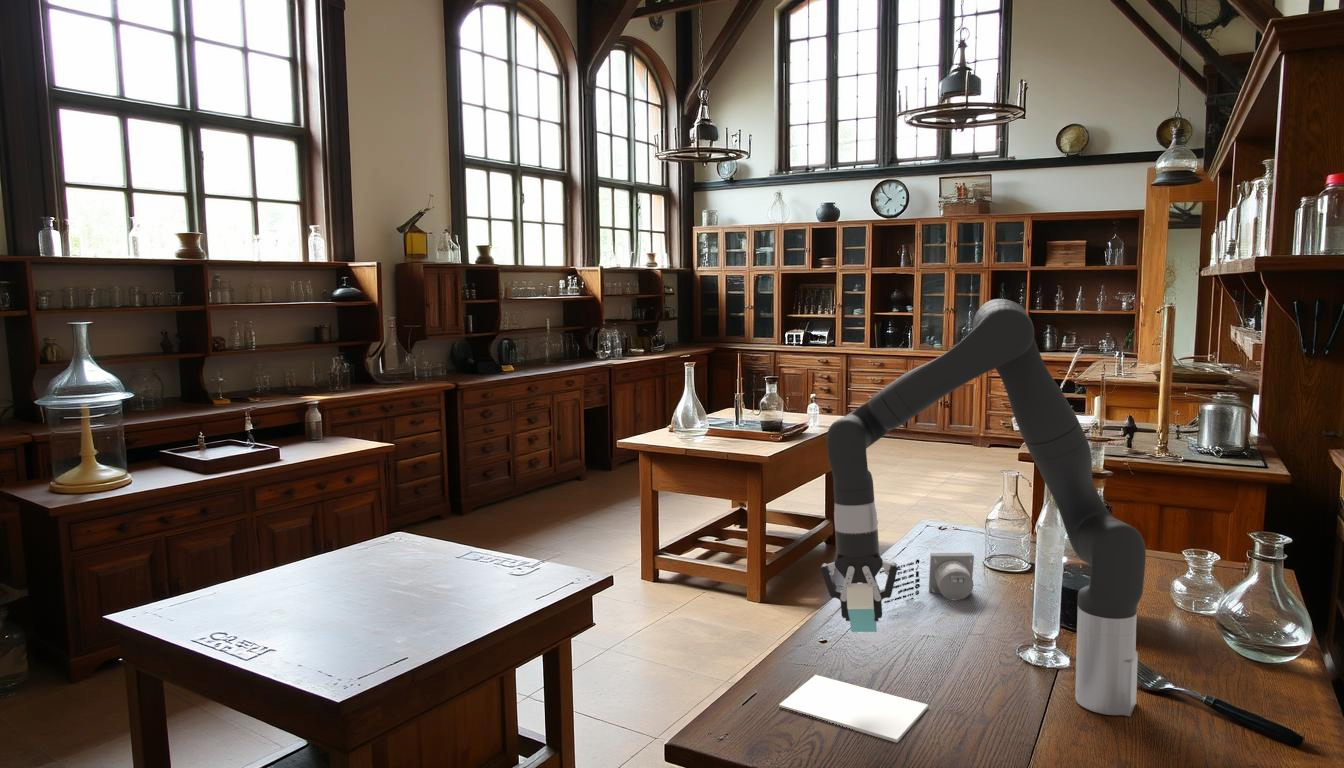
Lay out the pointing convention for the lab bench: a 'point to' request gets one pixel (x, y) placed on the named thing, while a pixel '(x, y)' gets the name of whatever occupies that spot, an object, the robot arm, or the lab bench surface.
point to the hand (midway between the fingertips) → (862, 619)
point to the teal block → (861, 607)
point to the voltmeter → (945, 575)
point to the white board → (856, 707)
